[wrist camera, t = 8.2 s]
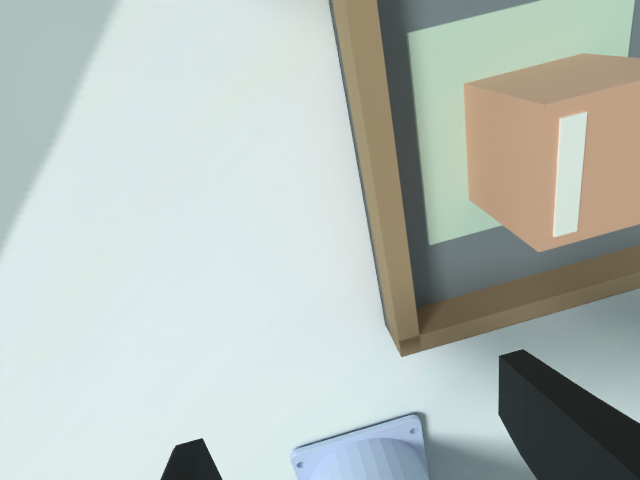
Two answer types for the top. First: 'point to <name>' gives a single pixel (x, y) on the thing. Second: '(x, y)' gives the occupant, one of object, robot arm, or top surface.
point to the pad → (482, 62)
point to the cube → (557, 148)
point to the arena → (408, 207)
